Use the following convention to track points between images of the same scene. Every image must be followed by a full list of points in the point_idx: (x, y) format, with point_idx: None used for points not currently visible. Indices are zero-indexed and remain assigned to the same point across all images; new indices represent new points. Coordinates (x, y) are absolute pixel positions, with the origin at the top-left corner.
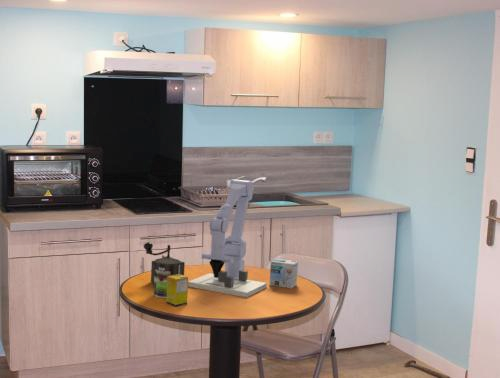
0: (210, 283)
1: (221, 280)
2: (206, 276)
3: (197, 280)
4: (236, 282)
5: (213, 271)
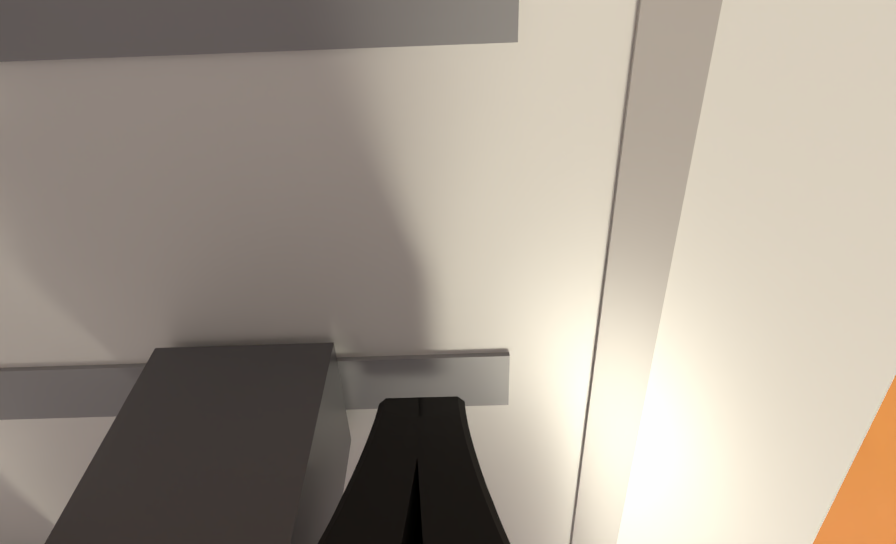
0: (338, 8)
1: (227, 362)
2: (757, 482)
3: (878, 84)
4: (9, 473)
5: (478, 532)
